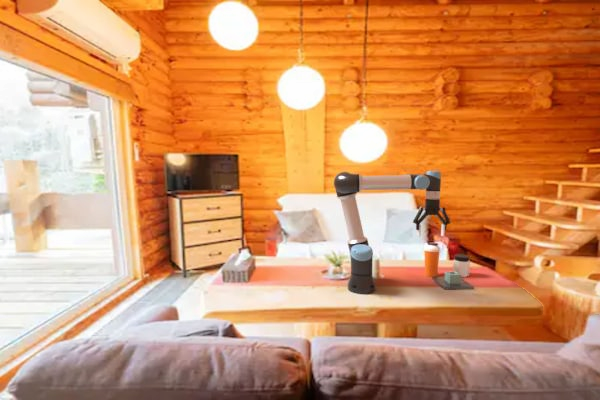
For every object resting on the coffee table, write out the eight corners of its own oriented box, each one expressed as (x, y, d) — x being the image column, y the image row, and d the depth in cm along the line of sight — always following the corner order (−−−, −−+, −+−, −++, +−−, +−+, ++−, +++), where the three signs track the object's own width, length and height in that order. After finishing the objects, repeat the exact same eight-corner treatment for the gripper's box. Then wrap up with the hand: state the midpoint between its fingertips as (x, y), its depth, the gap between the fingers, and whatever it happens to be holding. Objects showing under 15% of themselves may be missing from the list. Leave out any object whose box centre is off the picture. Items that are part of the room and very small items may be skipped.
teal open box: (444, 280, 186) (444, 271, 185) (455, 279, 186) (455, 270, 186) (449, 283, 180) (450, 274, 179) (460, 283, 180) (460, 274, 180)
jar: (465, 278, 193) (466, 258, 191) (451, 275, 198) (452, 256, 197) (470, 274, 199) (471, 255, 197) (457, 271, 205) (457, 253, 203)
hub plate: (444, 289, 175) (444, 279, 175) (431, 279, 191) (432, 270, 191) (473, 289, 176) (474, 279, 175) (458, 279, 192) (459, 269, 191)
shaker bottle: (436, 278, 193) (437, 245, 191) (421, 275, 198) (422, 243, 196) (440, 274, 200) (441, 242, 198) (425, 271, 206) (426, 240, 204)
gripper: (412, 199, 178) (411, 237, 180) (458, 199, 178) (455, 237, 181) (408, 197, 186) (406, 234, 188) (451, 198, 186) (449, 234, 188)
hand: (430, 235), depth 184 cm, fingers open, 13 cm apart
